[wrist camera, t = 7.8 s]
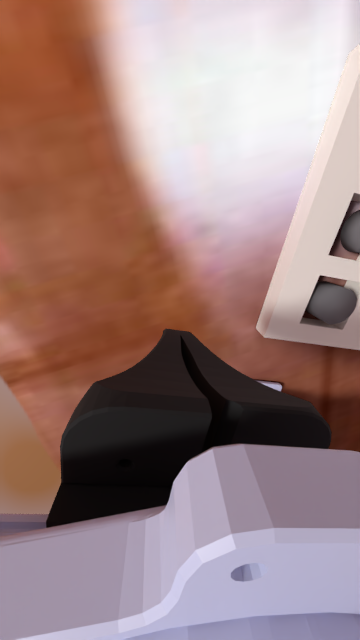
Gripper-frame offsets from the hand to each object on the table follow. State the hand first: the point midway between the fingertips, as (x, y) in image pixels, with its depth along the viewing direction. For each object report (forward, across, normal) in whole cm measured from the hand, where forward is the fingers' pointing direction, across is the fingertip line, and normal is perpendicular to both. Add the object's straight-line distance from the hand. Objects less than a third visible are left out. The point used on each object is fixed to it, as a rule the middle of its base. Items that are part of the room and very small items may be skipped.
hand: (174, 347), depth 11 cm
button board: (+9, -14, -8) cm, 19 cm away
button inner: (+9, -14, -2) cm, 17 cm away
